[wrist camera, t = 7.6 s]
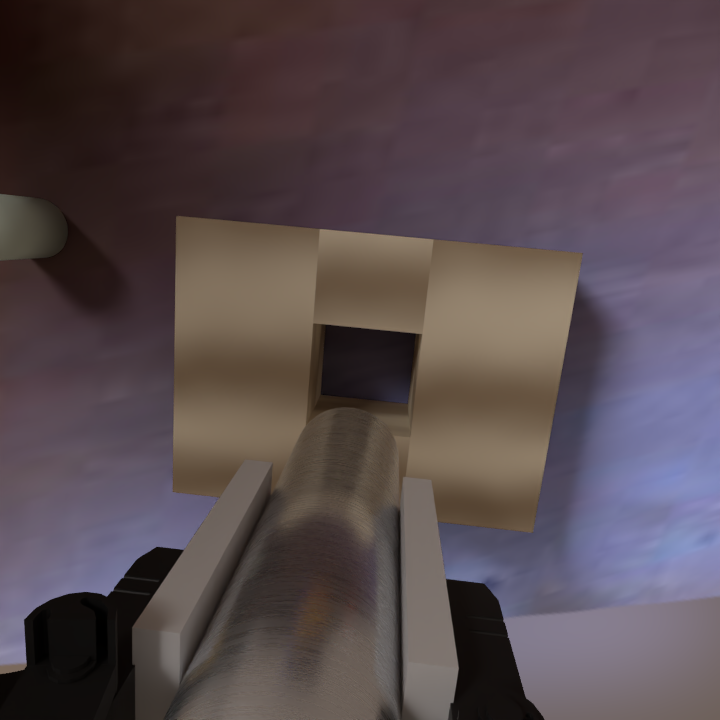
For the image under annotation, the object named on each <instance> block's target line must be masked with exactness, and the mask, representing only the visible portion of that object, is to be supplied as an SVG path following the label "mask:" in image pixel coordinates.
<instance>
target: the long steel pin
mask: <svg viewBox="0 0 720 720" xmlns="http://www.w3.org/2000/svg"><path fill="white" fill-rule="evenodd" d="M163 720H402V719H401V640H400V556H399V455H398V447H397V443H396V441H395V438H394V436H393V434H392V432H391V431H390V429H389V428H388V427H387V426H386V425H385V424H384V422H383V421H381V420H380V419H379V418H378V417H376V416H375V415H373V414H371V413H369V412H367V411H364V410H361V409H357V408H351V407H341V408H334V409H330V410H327V411H324V412H323V413H321V414H319V415H317V416H316V417H314V418H313V419H312V420H311V421H310V422H309V423H308V424H307V425H306V426H305V427H304V429H303V430H302V432H301V434H300V436H299V438H298V440H297V442H296V444H295V446H294V449H293V451H292V453H291V455H290V457H289V459H288V461H287V463H286V465H285V467H284V469H283V471H282V474H281V476H280V478H279V480H278V482H277V484H276V486H275V488H274V490H273V492H272V494H271V496H270V499H269V501H268V503H267V505H266V507H265V509H264V511H263V513H262V515H261V517H260V519H259V521H258V524H257V526H256V528H255V530H254V532H253V534H252V536H251V538H250V540H249V542H248V544H247V546H246V549H245V551H244V553H243V555H242V557H241V559H240V561H239V563H238V565H237V567H236V569H235V571H234V574H233V576H232V578H231V580H230V582H229V584H228V586H227V588H226V590H225V592H224V594H223V596H222V599H221V601H220V603H219V605H218V607H217V609H216V611H215V613H214V615H213V617H212V619H211V621H210V624H209V626H208V628H207V630H206V632H205V634H204V636H203V638H202V640H201V642H200V644H199V646H198V649H197V651H196V653H195V655H194V657H193V659H192V661H191V663H190V665H189V667H188V669H187V671H186V674H185V676H184V678H183V680H182V682H181V684H180V686H179V688H178V690H177V692H176V694H175V696H174V699H173V701H172V703H171V705H170V707H169V709H168V711H167V713H166V715H165V717H164V719H163Z"/></svg>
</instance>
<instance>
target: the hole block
mask: <svg viewBox="0 0 720 720" xmlns="http://www.w3.org/2000/svg"><path fill="white" fill-rule="evenodd" d="M582 254H583V253H575V252H564V251H553V250H543V249H532V248H521V247H510V246H499V245H488V244H477V243H467V242H456V241H445V240H434V239H423V238H412V237H401V236H390V235H380V234H369V233H358V232H347V231H336V230H325V229H314V228H303V227H293V226H282V225H271V224H260V223H249V222H238V221H227V220H216V219H205V218H194V217H183V216H176V277H175V354H174V431H173V492H177V493H186V494H195V495H203V496H212V497H220V496H221V495H222V493H223V492H224V490H225V489H226V487H227V486H228V484H229V483H230V481H231V480H232V478H233V477H234V475H235V474H236V472H237V471H238V469H239V468H240V466H241V465H242V463H243V462H244V460H245V459H246V460H256V461H265V462H273V467H272V485H271V494H272V492H273V490H274V488H275V486H276V484H277V482H278V480H279V478H280V476H281V474H282V471H283V469H284V467H285V465H286V463H287V461H288V459H289V457H290V455H291V453H292V451H293V449H294V446H295V444H296V442H297V440H298V438H299V436H300V434H301V432H302V430H303V429H304V427H305V426H306V425H307V424H308V423H309V422H310V421H311V420H312V419H313V418H314V417H316V416H317V415H319V414H321V413H323V412H324V411H327V410H330V409H334V408H341V407H351V408H357V409H361V410H364V411H367V412H369V413H371V414H373V415H375V416H376V417H378V418H379V419H380V420H381V421H383V422H384V424H385V425H386V426H387V427H388V428H389V429H390V431H391V432H392V434H393V436H394V438H395V441H396V443H397V447H398V455H399V508H400V499H401V491H402V482H403V477H410V478H419V479H428V480H431V481H432V488H433V495H434V502H435V509H436V515H437V522H442V523H451V524H460V525H469V526H478V527H487V528H495V529H504V530H513V531H522V532H531V533H533V529H534V523H535V518H536V512H537V506H538V501H539V495H540V490H541V484H542V478H543V473H544V467H545V462H546V456H547V450H548V445H549V439H550V434H551V428H552V422H553V417H554V411H555V406H556V400H557V394H558V389H559V383H560V378H561V372H562V366H563V361H564V355H565V350H566V344H567V338H568V333H569V327H570V322H571V316H572V310H573V305H574V299H575V294H576V288H577V282H578V277H579V271H580V266H581V260H582ZM326 325H336V326H346V327H356V328H366V329H377V330H387V331H397V332H407V333H416V336H415V345H414V354H413V363H412V371H411V380H410V389H409V398H408V404H405V403H395V402H386V401H376V400H367V399H357V398H348V397H338V396H328V395H321V383H322V370H323V357H324V344H325V331H326Z"/></svg>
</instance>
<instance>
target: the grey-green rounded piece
mask: <svg viewBox="0 0 720 720" xmlns="http://www.w3.org/2000/svg"><path fill="white" fill-rule="evenodd" d="M67 237H68V226H67V222H66V219H65V217H64V215H63V214H62V212H61V211H60V209H59V208H58V207H57V206H55V205H54V204H53V203H51V202H50V201H47V200H45V199H41V198H33V197H24V196H14V195H5V194H0V260H16V259H32V258H47V257H51V256H54V255H56V254H57V253H59V252H60V251H61V250H62V249H63V247H64V246H65V243H66V241H67Z"/></svg>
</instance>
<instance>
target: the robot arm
mask: <svg viewBox="0 0 720 720" xmlns="http://www.w3.org/2000/svg"><path fill="white" fill-rule="evenodd" d="M272 467H273V462H265V461H256V460H246V459H245V460H244V462H243V463H242V465H241V466H240V468H239V469H238V471H237V472H236V474H235V475H234V477H233V478H232V480H231V481H230V483H229V484H228V486H227V487H226V489H225V490H224V492H223V493H222V495H221V496H220V498H219V499H218V501H217V502H216V504H215V505H214V507H213V508H212V510H211V511H210V513H209V514H208V516H207V517H206V518H205V520H204V521H203V523H202V524H201V526H200V527H199V529H198V530H197V532H196V533H195V535H194V536H193V538H192V539H191V541H190V542H189V544H188V545H187V547H186V548H185V550H180V549H171V548H163V547H156V548H154V549H153V550H151V551H150V552H148V553H146V554H145V555H143V556H142V557H140V558H138V559H137V560H136V561H135V563H134V564H133V565H132V566H131V568H130V569H129V570H128V571H127V573H126V574H125V575H124V578H122V579H121V580H120V581H119V583H118V584H117V585H116V586H115V588H114V591H113V592H112V591H111V593H110V594H109V595H108V596H107V597H106V596H104V595H102V594H97V593H90V592H81V593H72V594H67V595H64V596H61V597H58V598H54V599H51V600H49V601H48V602H46V603H44V604H42V605H41V606H39V607H37V608H36V609H34V610H33V611H32V612H31V613H30V614H29V615H28V616H27V618H26V619H25V620H24V625H25V642H26V660H27V667H26V668H25V670H21V671H17V672H12V673H6V674H0V720H163V719H164V717H165V715H166V713H167V711H168V709H169V707H170V705H171V703H172V701H173V699H174V696H175V694H176V692H177V690H178V688H179V686H180V684H181V682H182V680H183V678H184V676H185V674H186V671H187V669H188V667H189V665H190V663H191V661H192V659H193V657H194V655H195V653H196V651H197V649H198V646H199V644H200V642H201V640H202V638H203V636H204V634H205V632H206V630H207V628H208V626H209V624H210V621H211V619H212V617H213V615H214V613H215V611H216V609H217V607H218V605H219V603H220V601H221V599H222V596H223V594H224V592H225V590H226V588H227V586H228V584H229V582H230V580H231V578H232V576H233V574H234V571H235V569H236V567H237V565H238V563H239V561H240V559H241V557H242V555H243V553H244V551H245V549H246V546H247V544H248V542H249V540H250V538H251V536H252V534H253V532H254V530H255V528H256V526H257V524H258V521H259V519H260V517H261V515H262V513H263V511H264V509H265V507H266V505H267V503H268V501H269V499H270V496H271V485H272ZM399 556H400V640H401V719H402V720H544V718H543V716H542V715H541V713H540V712H539V711H538V710H537V708H536V707H535V706H534V704H533V703H531V702H530V701H529V700H527V699H526V697H525V694H524V690H523V687H522V683H521V680H520V676H519V672H518V669H517V665H516V662H515V658H514V655H513V652H512V647H511V644H510V640H509V638H508V633H507V630H506V626H505V623H504V622H503V615H502V612H501V608H500V605H499V601H498V600H497V598H496V597H495V596H494V595H493V594H492V592H491V591H490V590H489V589H488V588H487V586H486V585H485V584H483V583H474V582H466V581H457V580H449V579H446V577H445V571H444V564H443V557H442V550H441V543H440V536H439V529H438V522H437V515H436V509H435V502H434V495H433V488H432V481H431V480H428V479H419V478H410V477H403V482H402V491H401V499H400V508H399Z"/></svg>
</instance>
